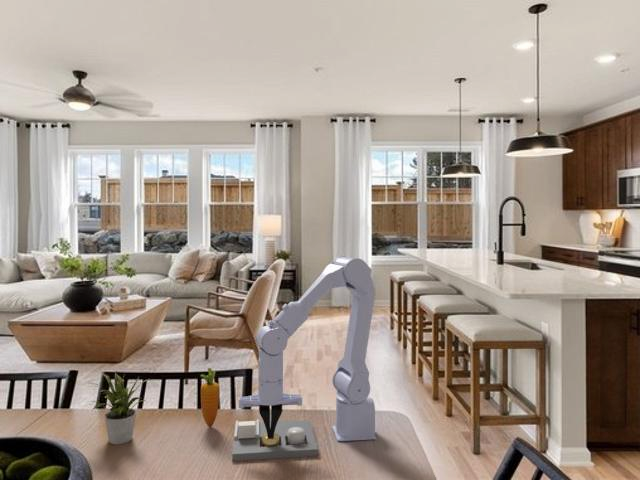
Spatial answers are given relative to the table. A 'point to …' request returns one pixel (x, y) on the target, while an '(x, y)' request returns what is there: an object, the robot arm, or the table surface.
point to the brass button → (270, 440)
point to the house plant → (119, 411)
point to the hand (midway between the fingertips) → (270, 436)
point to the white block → (246, 429)
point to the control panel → (252, 449)
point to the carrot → (209, 398)
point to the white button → (296, 436)
